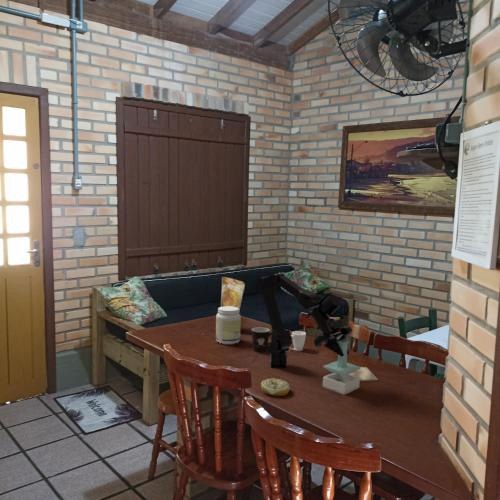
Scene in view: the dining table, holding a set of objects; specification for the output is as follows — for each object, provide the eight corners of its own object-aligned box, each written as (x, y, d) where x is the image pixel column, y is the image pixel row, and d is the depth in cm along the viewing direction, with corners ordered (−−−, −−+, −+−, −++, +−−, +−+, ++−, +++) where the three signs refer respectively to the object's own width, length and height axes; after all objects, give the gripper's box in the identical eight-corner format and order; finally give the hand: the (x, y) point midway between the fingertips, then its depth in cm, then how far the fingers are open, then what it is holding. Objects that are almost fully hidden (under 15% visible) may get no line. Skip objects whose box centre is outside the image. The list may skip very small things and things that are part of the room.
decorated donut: (272, 400, 173) (272, 389, 172) (255, 389, 182) (255, 380, 181) (294, 393, 179) (295, 384, 178) (277, 384, 188) (277, 374, 187)
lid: (323, 370, 185) (324, 340, 183) (338, 364, 192) (339, 335, 191) (345, 377, 178) (347, 346, 176) (360, 371, 185) (361, 341, 184)
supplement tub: (244, 340, 243) (245, 308, 241) (230, 346, 233) (231, 312, 231) (224, 336, 250) (225, 304, 248) (210, 342, 239) (211, 308, 238)
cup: (308, 350, 230) (309, 334, 229) (289, 352, 226) (290, 336, 225) (301, 346, 236) (301, 330, 236) (283, 348, 232) (283, 332, 232)
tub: (322, 387, 185) (322, 377, 185) (337, 380, 193) (338, 371, 192) (344, 395, 178) (345, 384, 178) (359, 388, 186) (359, 378, 185)
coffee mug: (248, 351, 226) (248, 330, 225) (254, 346, 234) (255, 326, 233) (271, 355, 222) (272, 334, 221) (277, 350, 230) (278, 329, 229)
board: (343, 380, 192) (343, 379, 192) (334, 368, 206) (334, 367, 206) (377, 380, 194) (377, 379, 194) (366, 368, 208) (366, 367, 207)
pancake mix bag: (225, 324, 273) (226, 275, 270) (244, 332, 257) (246, 281, 254) (215, 326, 269) (216, 276, 266) (234, 334, 254) (235, 282, 251)
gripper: (321, 313, 178) (345, 349, 172) (349, 306, 192) (372, 339, 185) (303, 329, 185) (326, 364, 178) (332, 321, 198) (354, 354, 191)
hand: (345, 355), depth 183 cm, fingers closed on lid, 3 cm apart
